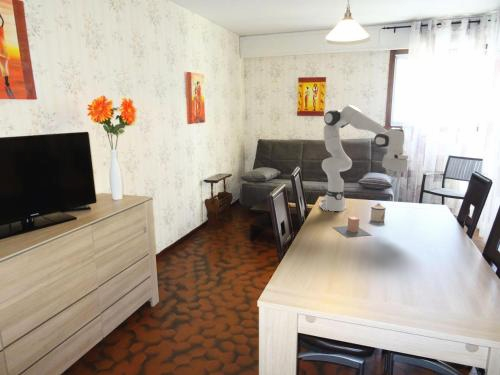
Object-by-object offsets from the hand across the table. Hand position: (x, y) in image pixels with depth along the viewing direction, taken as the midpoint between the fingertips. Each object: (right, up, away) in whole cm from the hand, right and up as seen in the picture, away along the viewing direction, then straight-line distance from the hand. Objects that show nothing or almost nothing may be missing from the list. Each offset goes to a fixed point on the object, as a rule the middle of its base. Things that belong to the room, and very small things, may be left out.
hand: (392, 176), depth 217 cm
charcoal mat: (-28, -33, -7) cm, 44 cm away
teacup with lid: (-3, -28, +17) cm, 33 cm away
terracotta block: (-27, -33, -6) cm, 43 cm away
